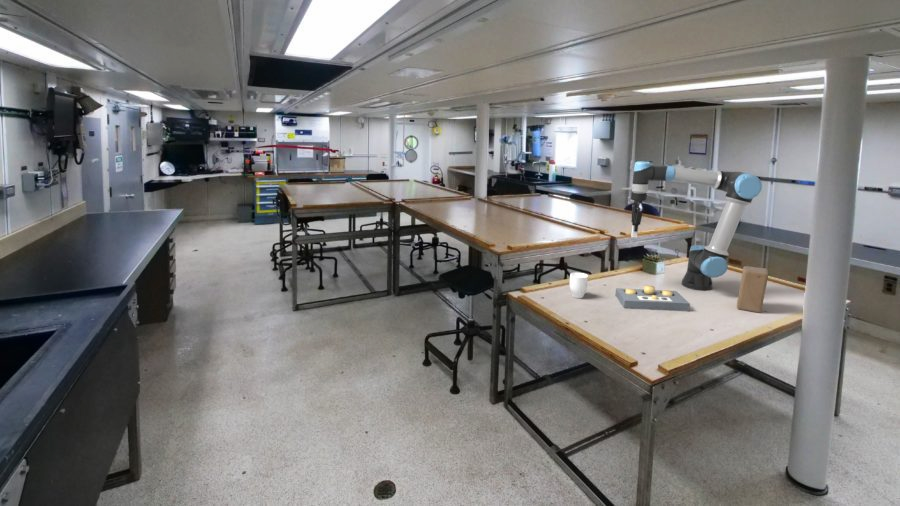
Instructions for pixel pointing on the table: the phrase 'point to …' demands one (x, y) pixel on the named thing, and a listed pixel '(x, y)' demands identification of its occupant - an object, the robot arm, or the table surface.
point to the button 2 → (667, 293)
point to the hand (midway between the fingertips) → (634, 237)
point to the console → (634, 302)
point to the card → (654, 298)
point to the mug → (578, 284)
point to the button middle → (649, 290)
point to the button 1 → (630, 291)
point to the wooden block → (752, 289)
